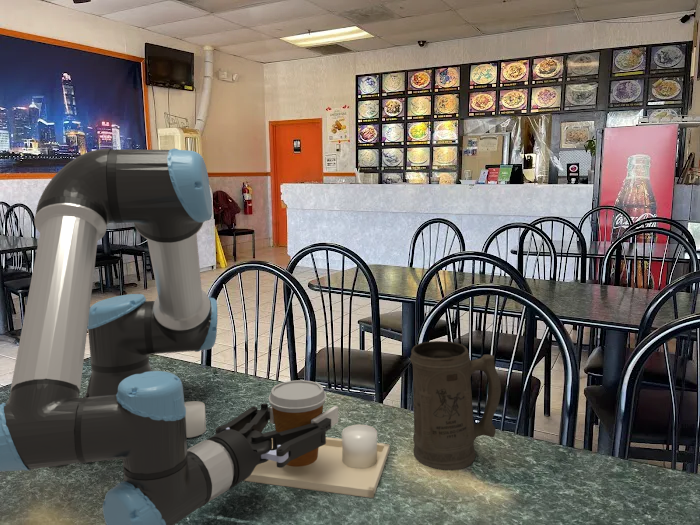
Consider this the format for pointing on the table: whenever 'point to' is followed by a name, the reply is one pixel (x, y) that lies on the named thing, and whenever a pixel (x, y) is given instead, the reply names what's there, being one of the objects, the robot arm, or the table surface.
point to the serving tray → (325, 472)
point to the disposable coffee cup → (297, 410)
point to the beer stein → (449, 404)
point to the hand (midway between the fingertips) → (315, 408)
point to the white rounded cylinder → (359, 446)
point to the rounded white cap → (195, 418)
